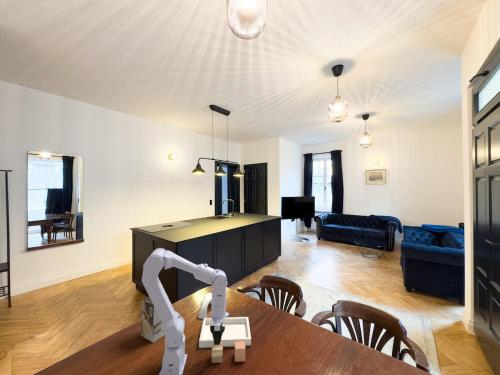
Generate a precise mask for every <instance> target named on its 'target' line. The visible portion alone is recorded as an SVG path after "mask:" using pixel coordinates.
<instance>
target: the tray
mask: <svg viewBox="0 0 500 375" xmlns="http://www.w3.org/2000/svg"><path fill="white" fill-rule="evenodd" d="M202 320H203V322H202V325H201V330H200V335H199V336H200V337H199V341H198V348H199V349H204V348H205V349H206V348H212V346H213V342H214V341H213V336H212V333H211V332H210V325H214V323H213V321H212V319H211V317H207V318H204V319H202ZM222 326H225V330H224V332H223V334H222V338H221V342H223V348H233V347H234V348H235V342H240V341H245V347H251V346H252V336H251V328H250V321H249V316H235V317H229V316H228V317H225V319H224V320H223V323H222Z"/></svg>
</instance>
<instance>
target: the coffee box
mask: <svg viewBox="0 0 500 375" xmlns="http://www.w3.org/2000/svg"><path fill="white" fill-rule="evenodd" d="M140 313H141V322H140V323H141V324H140V336H141V337H143V338H144V339H146V340H148V341H150V342H151V343H155V342H157V341H158V340H159V339H161V338H162V337H165V335H164V333H163V323H162V321H161V319H160V317H159V315H158V313H157V311H156V309H155V307H154V305H153V303H152V301H151V299H150V297H149V296H147V297H145V298H144V299H142V300H141V312H140Z"/></svg>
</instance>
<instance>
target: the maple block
mask: <svg viewBox="0 0 500 375" xmlns="http://www.w3.org/2000/svg"><path fill="white" fill-rule="evenodd" d="M223 350H224V347H223V342H221V343H220V345H214V342H213V346H212V347H211V364H212V363H214V364H217V363H222V362H223Z"/></svg>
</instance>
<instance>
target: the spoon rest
mask: <svg viewBox="0 0 500 375" xmlns="http://www.w3.org/2000/svg"><path fill="white" fill-rule="evenodd" d="M203 298H204V300H203V301H202V303H201V305H200V308H199V311H198V316H197V317H198V319H201V320H204V318H208V314H207V313H208V305H212V291H211V292H208V293H206V294H204V297H203Z"/></svg>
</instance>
